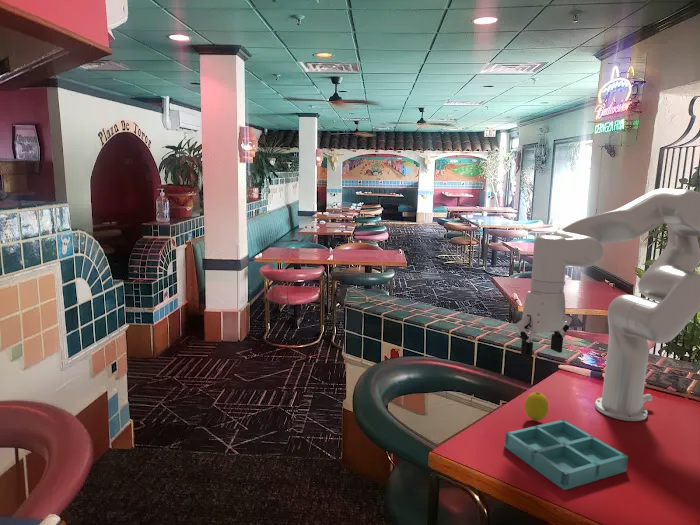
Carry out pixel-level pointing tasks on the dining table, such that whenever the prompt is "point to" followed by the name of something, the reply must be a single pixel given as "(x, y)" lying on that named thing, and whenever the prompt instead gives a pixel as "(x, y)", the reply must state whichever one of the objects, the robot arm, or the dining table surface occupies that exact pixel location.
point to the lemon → (536, 406)
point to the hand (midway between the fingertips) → (541, 353)
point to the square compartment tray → (565, 453)
